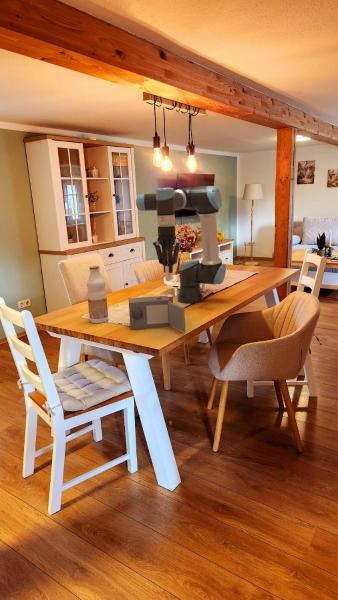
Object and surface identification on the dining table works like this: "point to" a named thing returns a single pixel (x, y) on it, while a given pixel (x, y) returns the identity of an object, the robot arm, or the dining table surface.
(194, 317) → the dining table surface
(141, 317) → the camera block
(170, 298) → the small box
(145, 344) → the dining table surface
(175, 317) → the side door
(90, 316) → the fruit juice
